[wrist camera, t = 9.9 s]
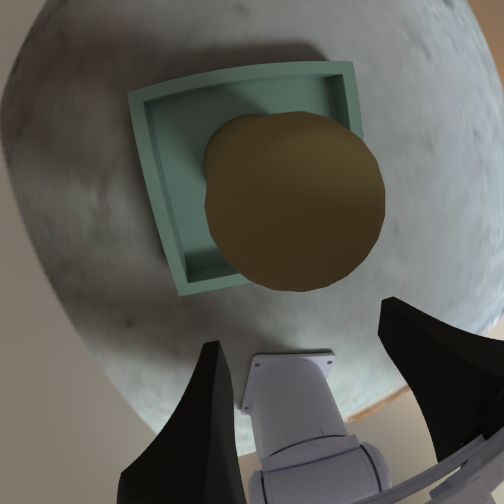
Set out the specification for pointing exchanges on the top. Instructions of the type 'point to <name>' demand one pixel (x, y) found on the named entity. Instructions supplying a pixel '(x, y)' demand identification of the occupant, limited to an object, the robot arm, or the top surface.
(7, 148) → the top surface
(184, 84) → the tray
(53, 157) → the top surface
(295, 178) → the cork
